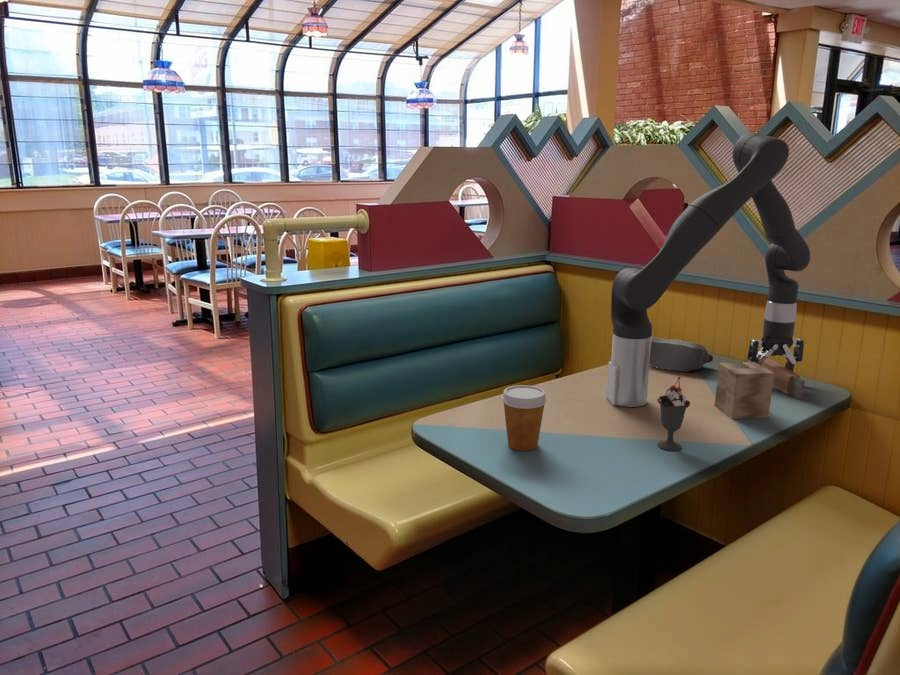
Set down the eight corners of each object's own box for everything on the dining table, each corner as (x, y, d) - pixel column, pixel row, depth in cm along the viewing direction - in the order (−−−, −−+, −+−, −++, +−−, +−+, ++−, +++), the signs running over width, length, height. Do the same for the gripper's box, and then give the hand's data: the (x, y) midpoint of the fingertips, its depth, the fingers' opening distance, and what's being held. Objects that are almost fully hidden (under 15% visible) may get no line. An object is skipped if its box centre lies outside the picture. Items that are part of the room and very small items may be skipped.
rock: (713, 366, 207) (716, 340, 205) (704, 376, 198) (706, 349, 196) (651, 357, 216) (653, 332, 214) (639, 366, 207) (641, 340, 205)
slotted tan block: (731, 418, 166) (736, 374, 163) (714, 405, 175) (719, 362, 172) (768, 417, 167) (773, 373, 164) (749, 404, 176) (754, 361, 173)
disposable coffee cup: (516, 432, 158) (518, 381, 155) (553, 443, 152) (555, 390, 149) (491, 446, 151) (492, 392, 147) (529, 458, 145) (531, 402, 142)
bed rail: (794, 399, 179) (797, 380, 178) (755, 375, 198) (757, 358, 197) (806, 399, 179) (808, 380, 178) (766, 375, 198) (768, 358, 197)
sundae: (682, 440, 154) (688, 374, 150) (689, 453, 147) (695, 384, 143) (650, 439, 154) (656, 373, 150) (656, 452, 148) (662, 383, 144)
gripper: (761, 321, 184) (754, 381, 188) (813, 321, 185) (805, 380, 189) (747, 315, 191) (740, 373, 195) (797, 314, 192) (790, 371, 196)
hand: (772, 376), depth 192 cm, fingers open, 8 cm apart
